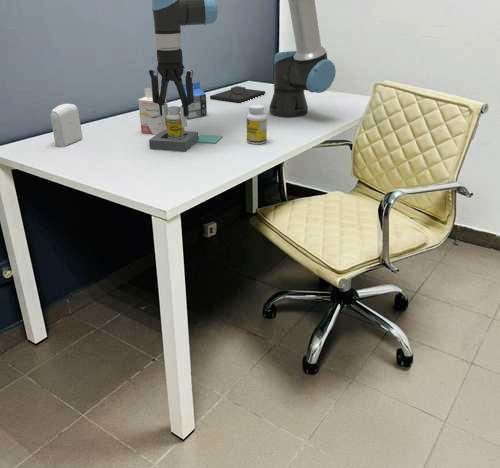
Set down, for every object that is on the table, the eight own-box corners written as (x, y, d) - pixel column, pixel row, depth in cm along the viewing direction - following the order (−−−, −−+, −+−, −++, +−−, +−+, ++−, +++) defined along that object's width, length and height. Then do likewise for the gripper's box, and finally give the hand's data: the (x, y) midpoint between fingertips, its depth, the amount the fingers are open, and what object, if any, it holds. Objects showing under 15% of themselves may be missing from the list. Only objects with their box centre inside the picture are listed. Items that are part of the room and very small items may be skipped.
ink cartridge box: (140, 133, 176) (136, 90, 169) (148, 129, 180) (143, 87, 173) (163, 135, 173) (159, 91, 167) (169, 131, 177) (166, 88, 171)
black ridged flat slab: (236, 92, 239) (210, 100, 224) (236, 86, 238) (209, 94, 222) (265, 95, 231) (239, 104, 216) (265, 89, 230) (239, 98, 214)
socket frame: (198, 140, 167) (198, 131, 166) (185, 151, 157) (185, 142, 156) (164, 138, 170) (163, 129, 169) (149, 149, 160) (148, 139, 158)
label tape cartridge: (188, 119, 192) (186, 86, 186) (182, 117, 195) (180, 84, 189) (207, 115, 197) (205, 83, 192) (201, 114, 200) (199, 81, 194)
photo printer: (64, 147, 162) (57, 108, 156) (53, 146, 164) (46, 107, 158) (84, 138, 171) (79, 101, 165) (74, 137, 172) (68, 100, 166)
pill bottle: (243, 140, 167) (243, 105, 162) (261, 138, 170) (262, 103, 164) (251, 145, 162) (251, 109, 157) (269, 143, 164) (270, 107, 159)
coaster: (222, 136, 171) (222, 135, 171) (215, 143, 164) (215, 142, 164) (200, 135, 173) (200, 134, 173) (192, 142, 166) (192, 141, 166)
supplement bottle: (183, 134, 165) (181, 105, 161) (185, 139, 161) (183, 108, 156) (167, 135, 164) (164, 106, 160) (168, 140, 160) (165, 110, 155)
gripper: (202, 47, 151) (206, 124, 162) (145, 46, 155) (153, 121, 166) (194, 50, 145) (198, 130, 155) (134, 49, 149) (143, 127, 159)
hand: (175, 125), depth 161 cm, fingers closed on supplement bottle, 5 cm apart
